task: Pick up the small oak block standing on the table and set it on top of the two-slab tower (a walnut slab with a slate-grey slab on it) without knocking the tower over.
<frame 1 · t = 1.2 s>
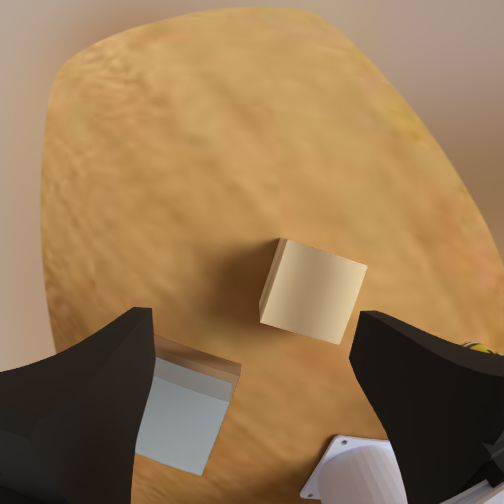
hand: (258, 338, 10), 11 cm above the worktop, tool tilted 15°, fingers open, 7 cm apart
walnut slab: (176, 388, 22), on the worktop, touching slate slab
oak block: (301, 280, 21), on the worktop
slate slab: (170, 406, 20), point 2 cm above the worktop, touching walnut slab
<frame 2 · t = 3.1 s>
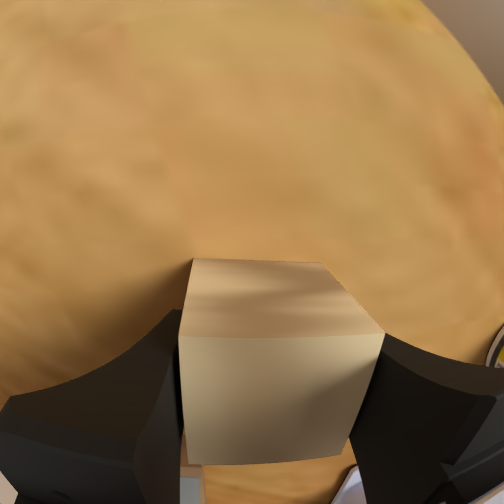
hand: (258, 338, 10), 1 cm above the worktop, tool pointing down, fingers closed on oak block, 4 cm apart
walnut slab: (137, 464, 14), on the worktop
oak block: (253, 318, 12), on the worktop, touching gripper
slate slab: (134, 498, 12), point 2 cm above the worktop
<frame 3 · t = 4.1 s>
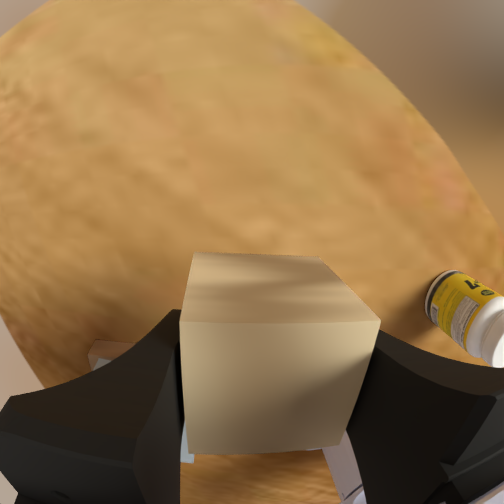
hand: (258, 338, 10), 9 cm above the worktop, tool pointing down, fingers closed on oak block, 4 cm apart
walnut slab: (154, 382, 22), on the worktop, touching slate slab
oak block: (253, 311, 12), point 8 cm above the worktop, touching gripper
slate slab: (149, 404, 20), point 2 cm above the worktop, touching walnut slab
supplement bottle: (443, 294, 22), on the worktop
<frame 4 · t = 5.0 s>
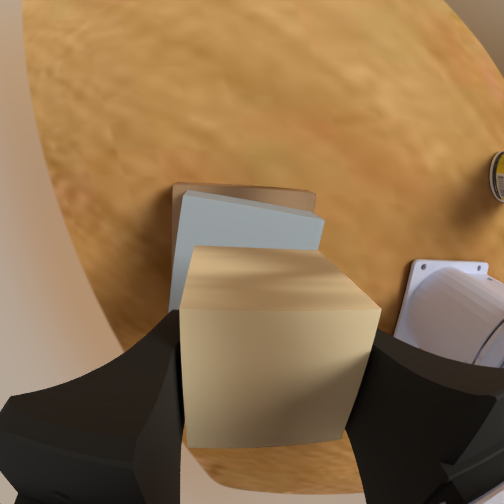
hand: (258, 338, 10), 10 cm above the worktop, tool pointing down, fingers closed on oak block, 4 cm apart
walnut slab: (238, 246, 21), on the worktop
oak block: (253, 305, 12), point 8 cm above the worktop, touching gripper
slate slab: (239, 260, 18), point 2 cm above the worktop
supplement bottle: (500, 175, 21), on the worktop
when the fingers open (7 cm above the worktop, at t = 6.0 s): oak block stays where it is, point 5 cm above the worktop.
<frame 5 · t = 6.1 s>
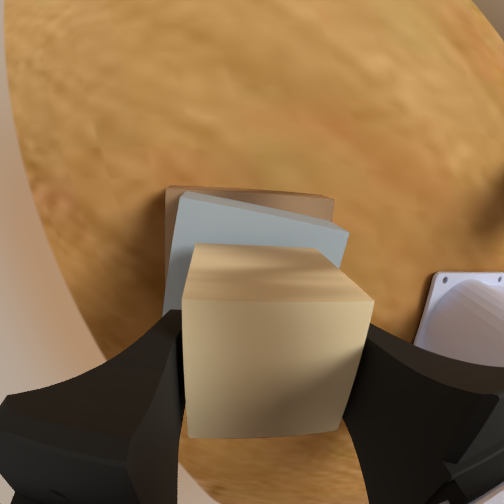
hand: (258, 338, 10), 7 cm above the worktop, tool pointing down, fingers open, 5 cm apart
walnut slab: (242, 259, 18), on the worktop, touching slate slab
oak block: (252, 301, 12), point 5 cm above the worktop
slate slab: (244, 275, 15), point 2 cm above the worktop, touching walnut slab
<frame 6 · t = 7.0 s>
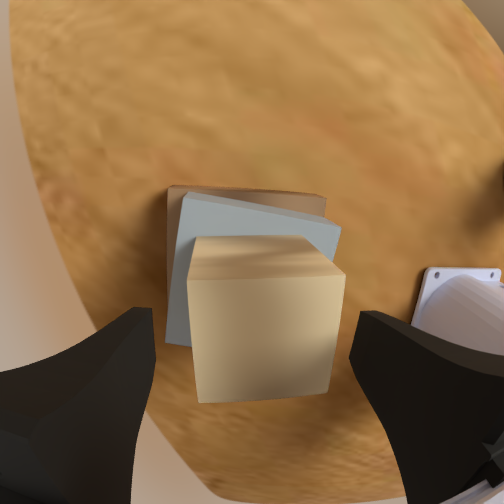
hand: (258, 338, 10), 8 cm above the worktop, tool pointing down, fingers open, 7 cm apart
walnut slab: (239, 254, 19), on the worktop, touching slate slab
oak block: (249, 284, 14), point 4 cm above the worktop, touching slate slab
slate slab: (244, 269, 16), point 2 cm above the worktop, touching oak block, walnut slab
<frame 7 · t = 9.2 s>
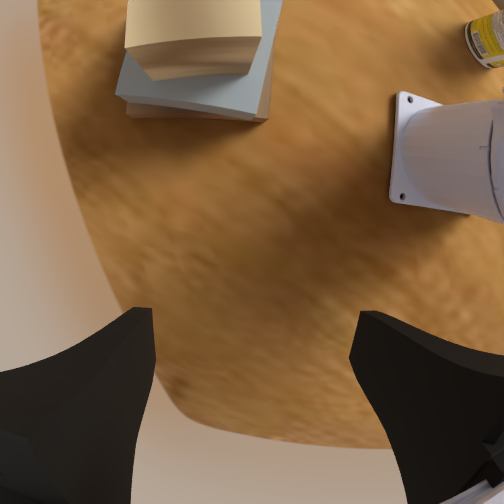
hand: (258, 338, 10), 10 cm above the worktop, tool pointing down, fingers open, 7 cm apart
walnut slab: (204, 61, 17), on the worktop, touching slate slab
oak block: (199, 36, 12), point 4 cm above the worktop, touching slate slab
slate slab: (202, 52, 15), point 2 cm above the worktop, touching oak block, walnut slab
supplement bottle: (479, 45, 17), on the worktop
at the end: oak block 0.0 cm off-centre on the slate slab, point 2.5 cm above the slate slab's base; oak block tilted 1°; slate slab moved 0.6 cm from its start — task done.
